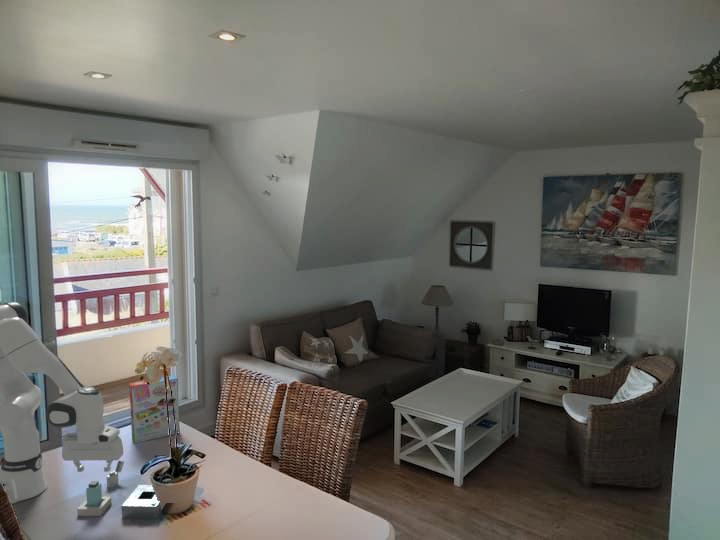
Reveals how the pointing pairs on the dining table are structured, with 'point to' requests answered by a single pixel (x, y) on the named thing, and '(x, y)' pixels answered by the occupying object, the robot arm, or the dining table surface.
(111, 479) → the lighter
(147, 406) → the game box
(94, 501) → the plug
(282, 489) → the dining table surface
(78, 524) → the dining table surface
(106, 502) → the cream square frame
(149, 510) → the panel
